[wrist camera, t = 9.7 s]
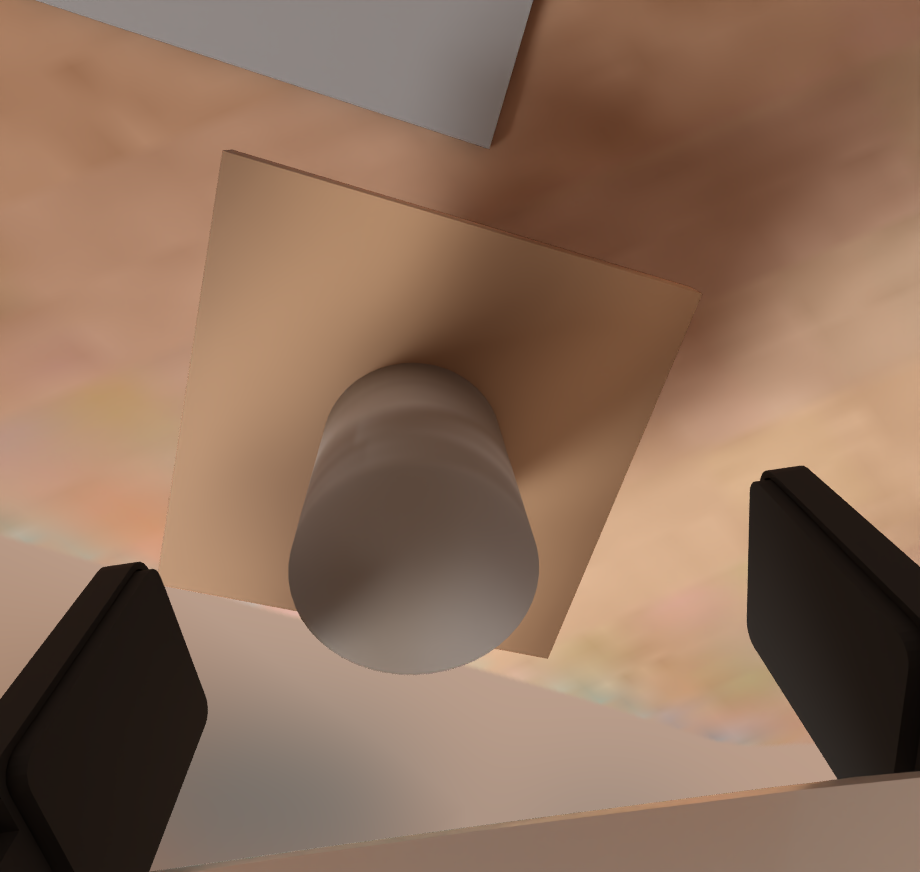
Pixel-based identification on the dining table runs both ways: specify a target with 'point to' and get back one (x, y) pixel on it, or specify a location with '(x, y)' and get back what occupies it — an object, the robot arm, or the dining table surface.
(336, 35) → the mat
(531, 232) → the dining table surface
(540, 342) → the lid
